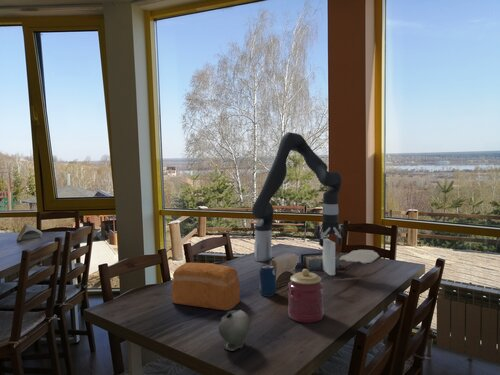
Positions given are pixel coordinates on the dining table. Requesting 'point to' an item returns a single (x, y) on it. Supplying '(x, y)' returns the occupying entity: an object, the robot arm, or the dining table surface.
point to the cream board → (329, 256)
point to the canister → (305, 297)
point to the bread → (206, 286)
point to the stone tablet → (361, 256)
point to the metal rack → (316, 261)
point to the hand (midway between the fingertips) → (329, 245)
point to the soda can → (267, 280)
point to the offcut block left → (311, 259)
